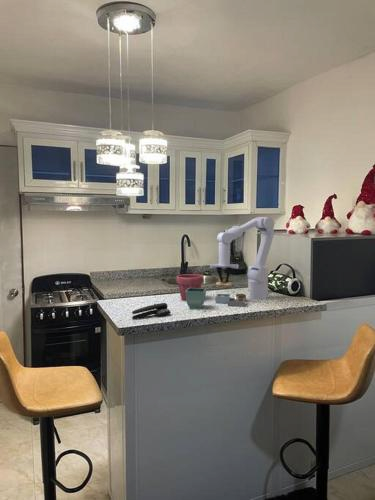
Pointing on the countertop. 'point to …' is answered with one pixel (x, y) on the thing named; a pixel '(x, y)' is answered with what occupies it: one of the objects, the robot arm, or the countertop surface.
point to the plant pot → (188, 283)
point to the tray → (236, 302)
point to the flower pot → (195, 297)
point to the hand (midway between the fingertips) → (224, 282)
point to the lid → (224, 282)
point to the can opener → (152, 311)
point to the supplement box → (264, 281)
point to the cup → (222, 298)
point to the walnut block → (241, 296)
